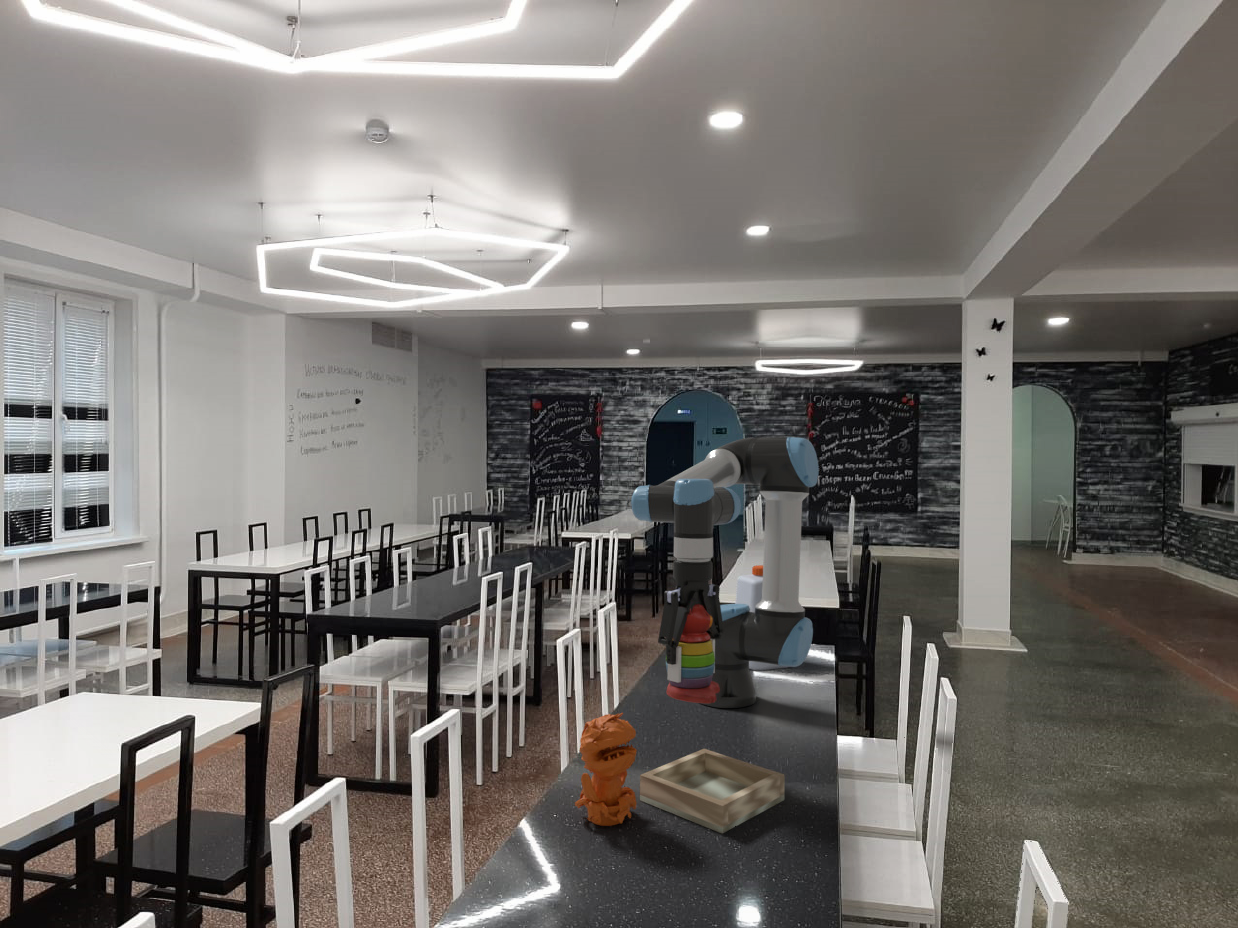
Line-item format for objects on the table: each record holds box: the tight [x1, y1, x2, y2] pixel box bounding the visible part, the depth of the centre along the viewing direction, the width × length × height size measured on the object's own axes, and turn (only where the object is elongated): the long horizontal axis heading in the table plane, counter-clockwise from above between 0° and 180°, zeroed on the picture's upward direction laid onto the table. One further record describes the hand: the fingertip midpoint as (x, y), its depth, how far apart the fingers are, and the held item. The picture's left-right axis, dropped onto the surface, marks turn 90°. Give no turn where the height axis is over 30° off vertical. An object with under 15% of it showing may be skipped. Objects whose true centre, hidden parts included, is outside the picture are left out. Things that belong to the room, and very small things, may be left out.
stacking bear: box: [665, 604, 720, 704], centre depth 160 cm, size 11×10×18 cm
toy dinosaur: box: [574, 712, 638, 827], centre depth 139 cm, size 11×11×18 cm
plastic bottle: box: [734, 564, 789, 671], centre depth 239 cm, size 15×15×28 cm
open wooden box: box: [639, 748, 785, 834], centre depth 147 cm, size 18×18×4 cm
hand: (691, 676), depth 160 cm, fingers closed on stacking bear, 9 cm apart
